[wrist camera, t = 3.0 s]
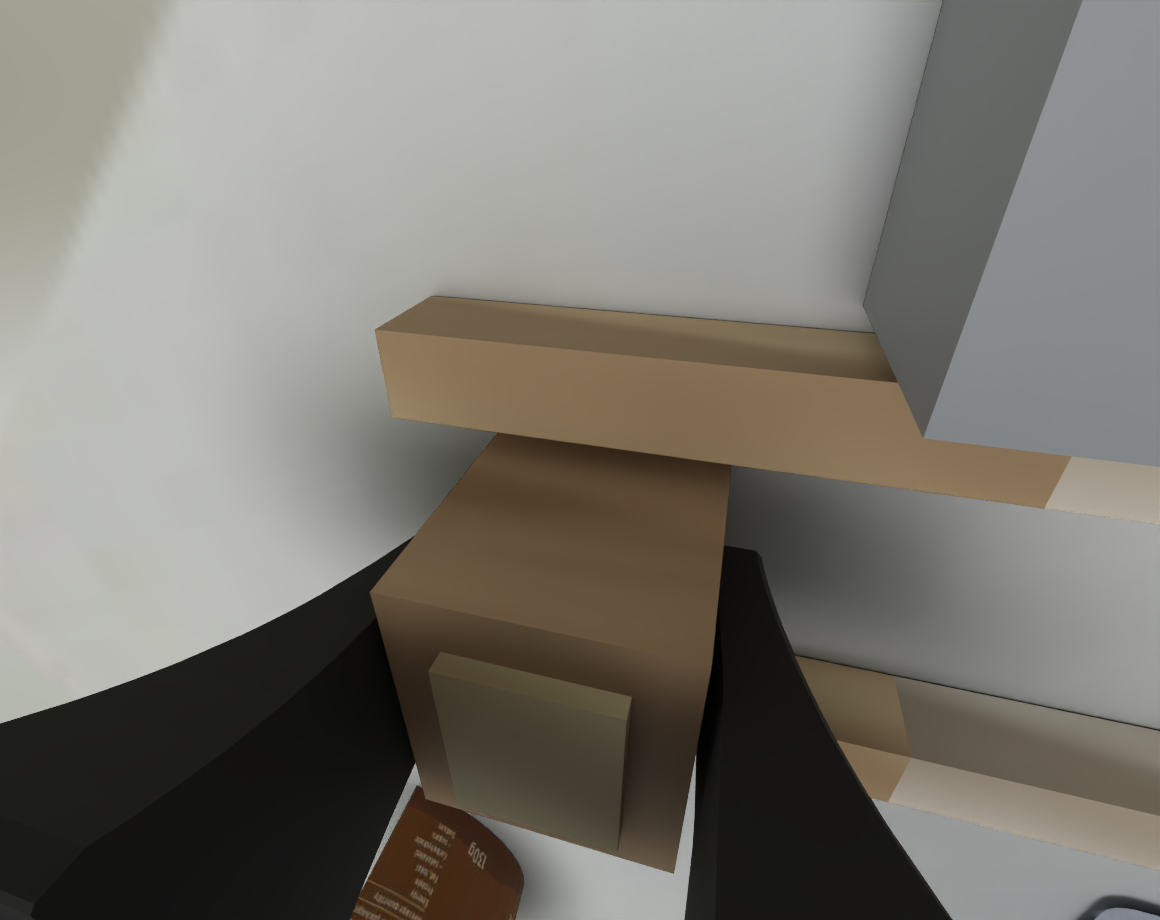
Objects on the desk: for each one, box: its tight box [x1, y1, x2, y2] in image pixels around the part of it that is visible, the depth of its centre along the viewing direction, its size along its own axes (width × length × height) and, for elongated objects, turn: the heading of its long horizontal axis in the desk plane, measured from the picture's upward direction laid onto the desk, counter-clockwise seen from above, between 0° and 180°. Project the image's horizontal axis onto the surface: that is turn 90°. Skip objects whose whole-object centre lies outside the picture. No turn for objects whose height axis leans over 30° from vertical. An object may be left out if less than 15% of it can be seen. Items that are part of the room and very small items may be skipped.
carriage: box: [370, 432, 732, 874], centre depth 10 cm, size 5×4×5 cm
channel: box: [375, 296, 1160, 871], centre depth 10 cm, size 9×18×2 cm, turn 90°
